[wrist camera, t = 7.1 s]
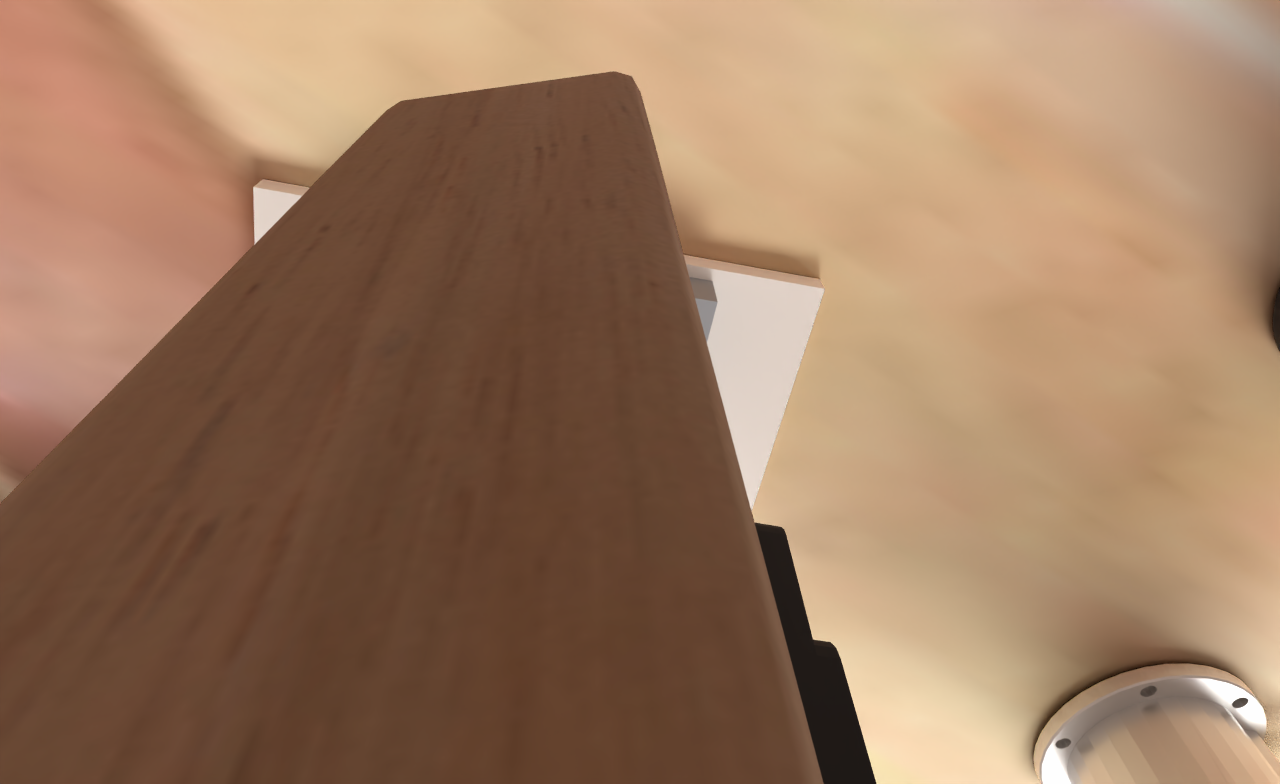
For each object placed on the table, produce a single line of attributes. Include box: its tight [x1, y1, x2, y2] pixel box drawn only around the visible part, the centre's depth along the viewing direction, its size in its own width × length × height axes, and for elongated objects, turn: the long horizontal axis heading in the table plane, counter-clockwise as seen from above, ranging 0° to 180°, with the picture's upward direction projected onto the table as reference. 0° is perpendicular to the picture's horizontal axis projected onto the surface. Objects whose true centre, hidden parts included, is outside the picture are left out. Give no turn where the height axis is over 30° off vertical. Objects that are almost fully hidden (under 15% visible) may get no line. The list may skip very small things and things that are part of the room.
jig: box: [253, 179, 825, 511], centre depth 37 cm, size 22×18×3 cm
